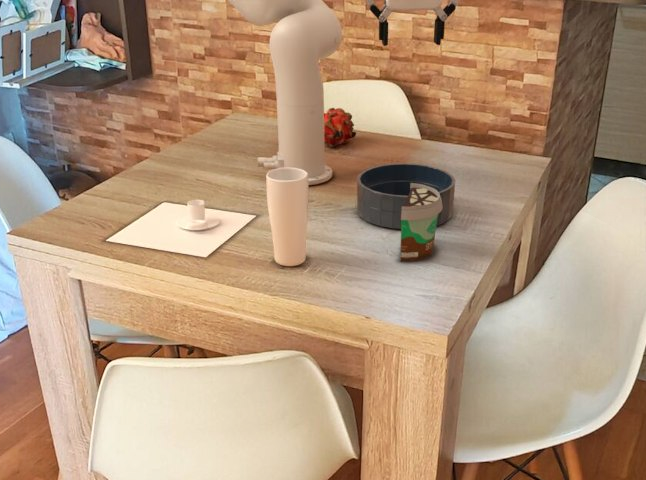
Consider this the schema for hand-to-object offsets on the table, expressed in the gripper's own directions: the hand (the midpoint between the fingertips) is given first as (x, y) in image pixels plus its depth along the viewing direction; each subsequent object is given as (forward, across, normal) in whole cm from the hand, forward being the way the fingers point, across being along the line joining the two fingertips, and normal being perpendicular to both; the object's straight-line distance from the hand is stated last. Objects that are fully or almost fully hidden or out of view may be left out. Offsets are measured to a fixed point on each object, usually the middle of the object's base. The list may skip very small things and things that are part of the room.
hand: (410, 44), depth 149 cm
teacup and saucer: (+28, +43, +14) cm, 53 cm away
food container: (+28, +1, +28) cm, 40 cm away
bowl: (+28, +2, +10) cm, 30 cm away
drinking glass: (+28, +24, +30) cm, 48 cm away
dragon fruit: (+28, +11, -34) cm, 46 cm away
